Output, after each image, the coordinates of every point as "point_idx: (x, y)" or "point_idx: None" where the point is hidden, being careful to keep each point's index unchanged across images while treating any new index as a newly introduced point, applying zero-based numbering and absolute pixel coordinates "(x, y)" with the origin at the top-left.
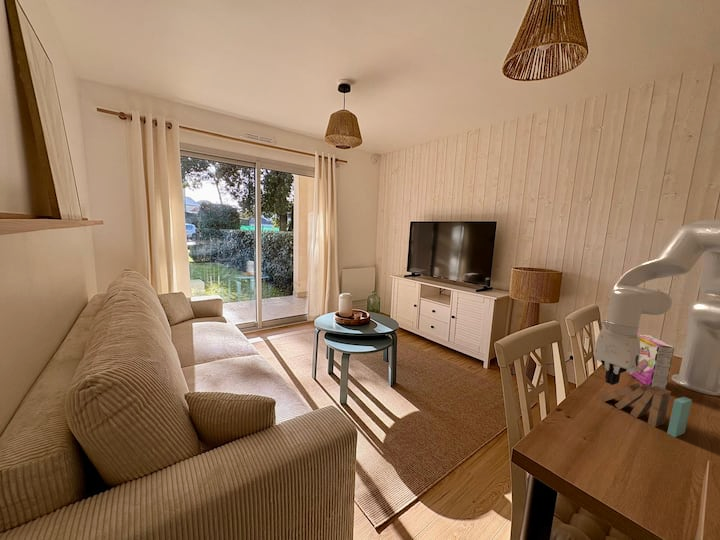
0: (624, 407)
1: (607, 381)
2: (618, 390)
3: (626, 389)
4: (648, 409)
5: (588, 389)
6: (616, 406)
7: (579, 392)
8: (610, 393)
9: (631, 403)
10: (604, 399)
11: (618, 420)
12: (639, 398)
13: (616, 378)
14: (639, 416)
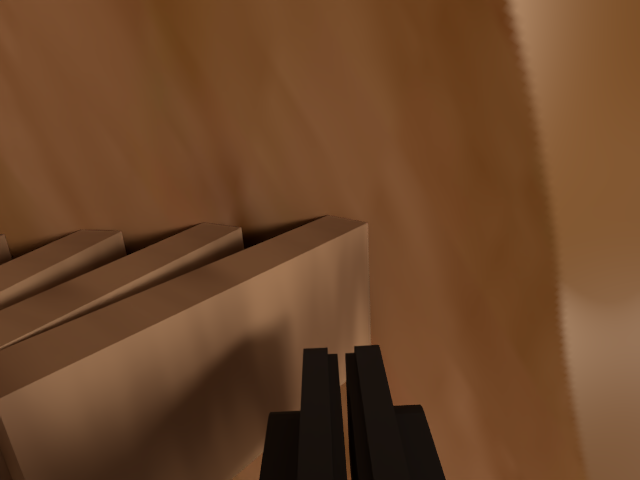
0: None
1: (358, 356)
2: (187, 304)
3: (66, 345)
4: None
5: (511, 294)
6: (224, 226)
7: (521, 151)
8: (281, 262)
9: None
10: (326, 222)
11: (68, 14)
12: None
13: (263, 468)
14: None
